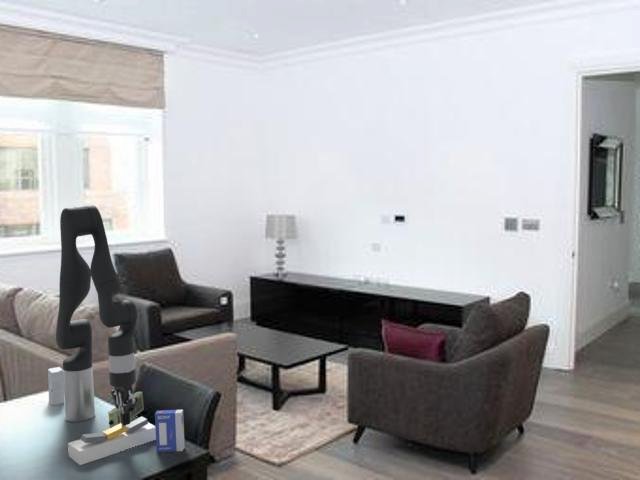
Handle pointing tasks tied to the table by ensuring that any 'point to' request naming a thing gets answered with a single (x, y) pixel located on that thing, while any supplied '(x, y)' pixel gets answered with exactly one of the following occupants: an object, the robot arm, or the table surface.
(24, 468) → the table surface
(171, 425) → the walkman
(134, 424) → the block
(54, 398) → the skincare box
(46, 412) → the table surface
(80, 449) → the power strip
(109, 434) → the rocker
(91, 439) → the grey flat block
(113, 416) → the handheld radio
